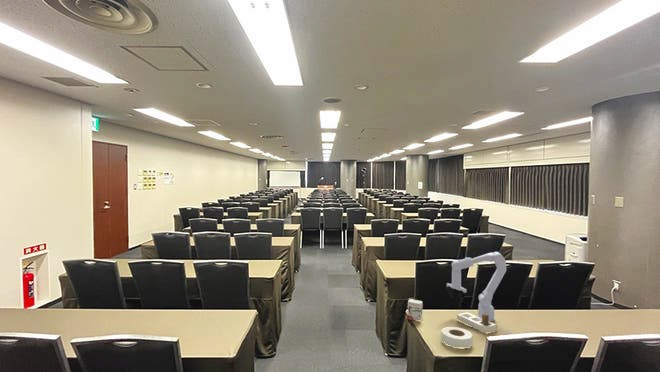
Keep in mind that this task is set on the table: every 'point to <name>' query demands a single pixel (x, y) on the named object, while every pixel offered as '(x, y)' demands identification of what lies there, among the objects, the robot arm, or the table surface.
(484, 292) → the robot arm
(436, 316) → the table surface
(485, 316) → the walnut peg
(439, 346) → the table surface
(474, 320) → the well block
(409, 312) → the ink box
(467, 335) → the roll of tape
